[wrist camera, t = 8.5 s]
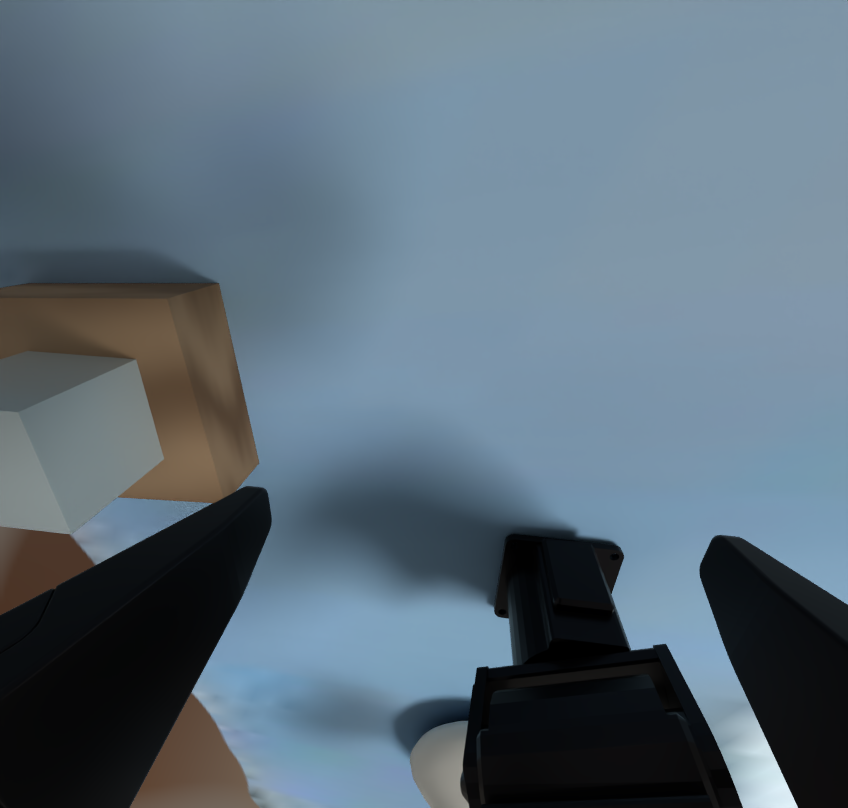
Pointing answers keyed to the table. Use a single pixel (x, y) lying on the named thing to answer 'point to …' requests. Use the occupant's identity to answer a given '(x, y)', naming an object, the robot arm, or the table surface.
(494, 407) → the table surface
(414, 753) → the flower in vase
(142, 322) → the tan block
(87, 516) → the gray cube
